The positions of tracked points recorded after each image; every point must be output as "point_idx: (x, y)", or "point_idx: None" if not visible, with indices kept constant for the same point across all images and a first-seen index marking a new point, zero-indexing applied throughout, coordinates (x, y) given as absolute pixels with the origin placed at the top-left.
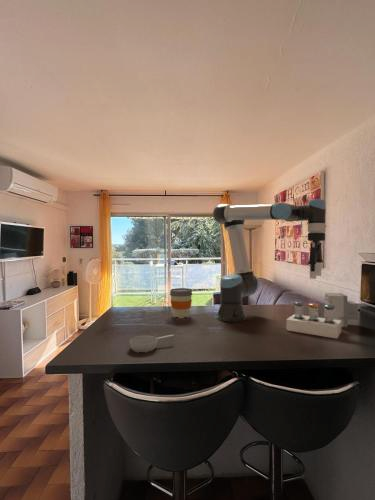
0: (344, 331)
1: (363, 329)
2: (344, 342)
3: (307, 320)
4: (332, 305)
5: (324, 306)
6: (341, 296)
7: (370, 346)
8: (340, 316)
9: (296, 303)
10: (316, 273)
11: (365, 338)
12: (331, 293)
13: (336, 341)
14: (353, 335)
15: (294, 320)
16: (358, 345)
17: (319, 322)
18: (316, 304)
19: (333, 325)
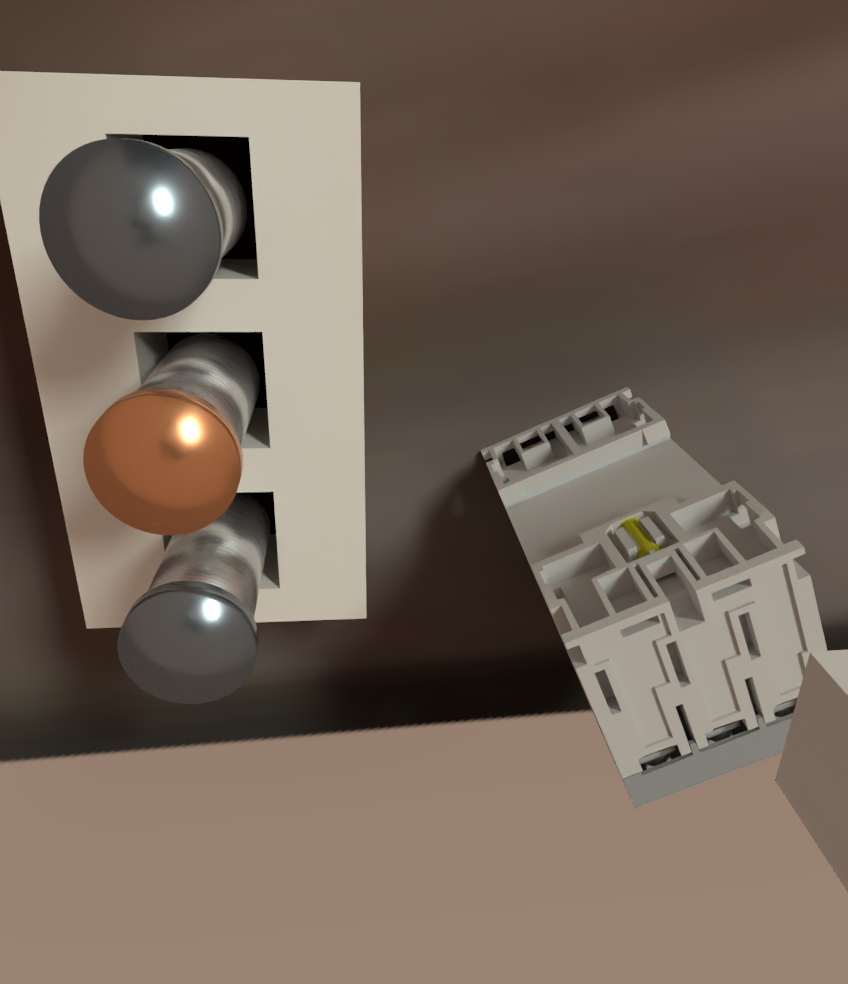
0: (377, 580)
1: (524, 679)
2: (55, 622)
3: (128, 337)
4: (235, 675)
5: (137, 605)
6: (612, 752)
7: (94, 754)
8: (539, 587)
9: (41, 210)
10: (838, 736)
11: (271, 714)
12: (798, 623)
13: (34, 574)
14: (298, 646)
15: (8, 191)
16: (57, 700)
17: None
18: (166, 507)
19: (110, 595)
